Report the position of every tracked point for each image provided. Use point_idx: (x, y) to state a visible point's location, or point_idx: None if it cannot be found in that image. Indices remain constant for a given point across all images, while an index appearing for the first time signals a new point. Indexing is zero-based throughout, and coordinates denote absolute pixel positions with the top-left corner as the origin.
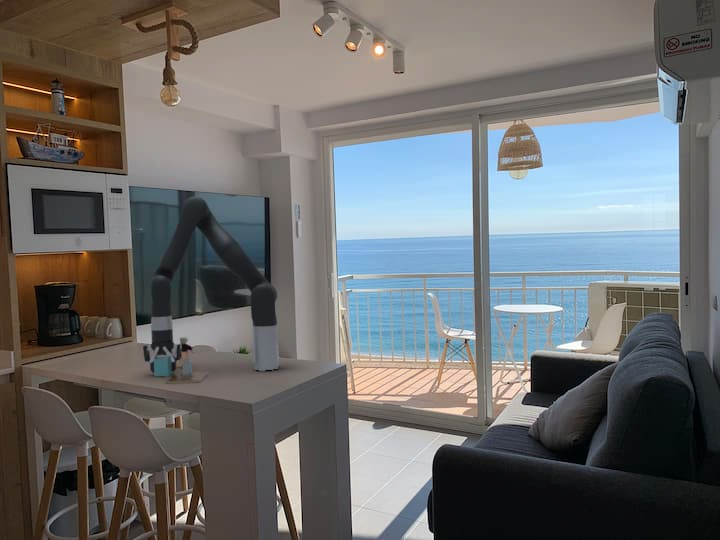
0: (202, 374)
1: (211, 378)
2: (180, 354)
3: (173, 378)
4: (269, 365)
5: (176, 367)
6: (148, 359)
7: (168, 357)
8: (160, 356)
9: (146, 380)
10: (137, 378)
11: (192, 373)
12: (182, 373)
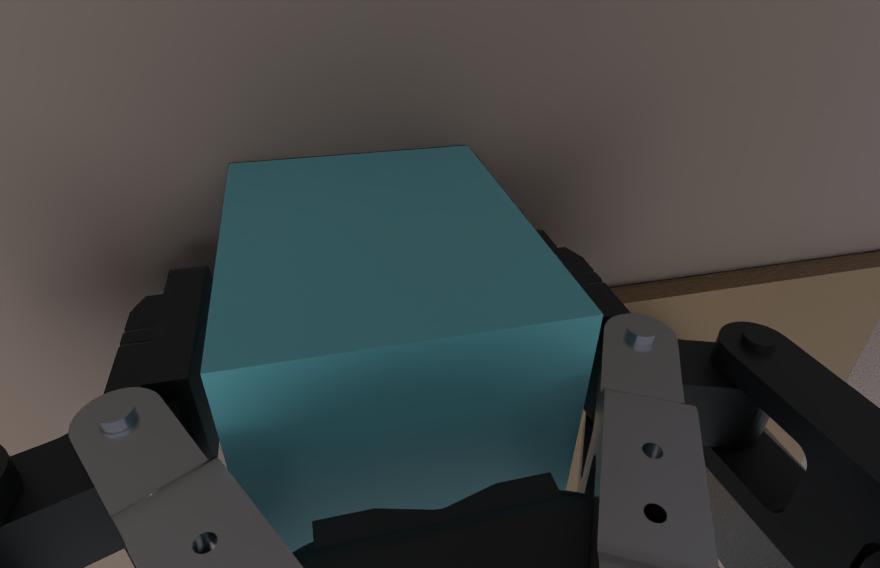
0: (837, 341)
1: (871, 378)
2: (825, 408)
3: (567, 486)
4: None
5: (587, 268)
6: (62, 552)
7: (540, 447)
8: (272, 365)
9: None
10: (45, 430)
11: (751, 304)
12: (640, 305)
